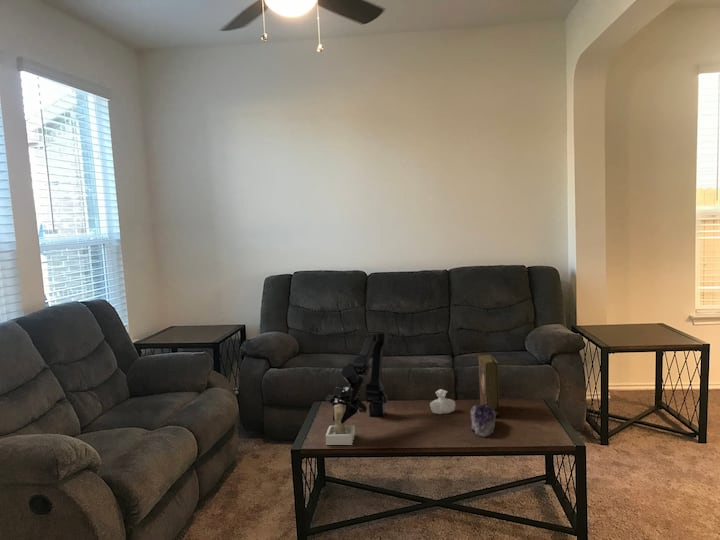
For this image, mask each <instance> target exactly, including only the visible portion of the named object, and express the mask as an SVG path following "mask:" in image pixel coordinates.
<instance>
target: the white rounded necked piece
mask: <svg viewBox="0 0 720 540" xmlns="http://www.w3.org/2000/svg"><path fill="white" fill-rule="evenodd" d="M447 393H448V390H444V389H441V388H440V389H438V390H437V391H435V395H436V397H438V398H437V399H434V400H432V401H431V402H430V403H429V406H430V409H431V412H432V413H433V414H438V415H442V414H450V413H452V412H453V413H454V412H455V409H456V401H454V399H450V398H446V396H447V395H446V394H447Z"/></svg>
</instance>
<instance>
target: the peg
mask: <svg viewBox="0 0 720 540" xmlns="http://www.w3.org/2000/svg"><path fill="white" fill-rule="evenodd" d="M344 406H345V405H342V404H338V405H335V406H333V414H335V422H334V426H335V431H336V435H339V434H345V425H346V421H345V422H344V423H343V424H342V423H341V420H342V417H343V415H344V413H345V407H344Z"/></svg>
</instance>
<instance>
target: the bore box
mask: <svg viewBox="0 0 720 540" xmlns="http://www.w3.org/2000/svg"><path fill="white" fill-rule="evenodd" d="M354 436H356V432H355V425H353V424H352V425H351V424H349V425H348V424H347V425H346V424H345V434H339V435H336V431H335V425H329V426H328V428H327V431H326V434H325V446H326V445H352V446H353V444H352V443H354V441H353V440H355V437H354Z"/></svg>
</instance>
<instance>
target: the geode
mask: <svg viewBox="0 0 720 540" xmlns="http://www.w3.org/2000/svg"><path fill="white" fill-rule="evenodd" d="M496 413H497V412H496V411H494V410H493V409H491V408H490V406H488V405H487V404H482V405H480V404H479V405H478V406H477V405H473V406H472V407H471V410H470V412H469V414H470V422H471V428H470V429H471V431H474V432H475V433H474V434H475V437H479V438H483V439H485V438H486V439H487V438H488V437H491V436H492V435H494V431H495V426H496V417H497V416H496Z"/></svg>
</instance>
